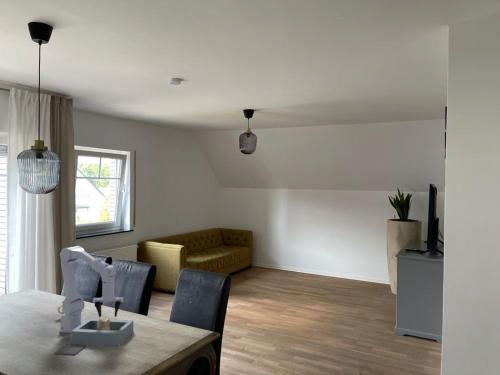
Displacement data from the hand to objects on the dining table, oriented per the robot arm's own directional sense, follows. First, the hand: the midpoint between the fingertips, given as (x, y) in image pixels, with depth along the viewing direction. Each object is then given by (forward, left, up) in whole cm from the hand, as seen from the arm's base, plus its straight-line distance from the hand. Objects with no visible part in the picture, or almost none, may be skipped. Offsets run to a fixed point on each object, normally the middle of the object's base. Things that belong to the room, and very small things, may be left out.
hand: (107, 316), depth 196 cm
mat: (-10, -18, -10) cm, 22 cm away
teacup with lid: (-37, +25, -11) cm, 46 cm away
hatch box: (-2, -2, -10) cm, 10 cm away
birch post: (-2, -2, -8) cm, 8 cm away
